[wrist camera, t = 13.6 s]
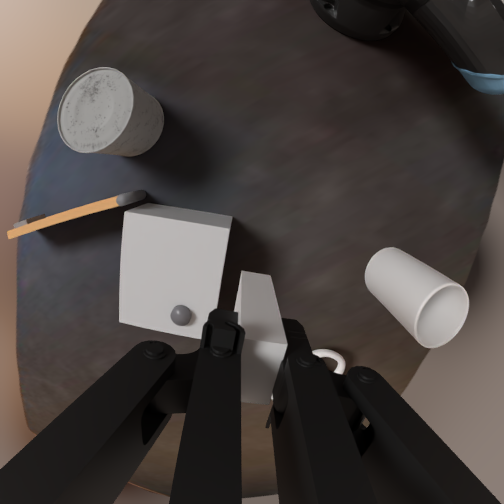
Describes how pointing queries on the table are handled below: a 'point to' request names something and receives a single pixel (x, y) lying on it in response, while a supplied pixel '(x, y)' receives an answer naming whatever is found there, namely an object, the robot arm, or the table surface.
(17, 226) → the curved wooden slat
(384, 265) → the cup
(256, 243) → the table surface
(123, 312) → the knobbed white cabinet
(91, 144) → the grey mottled cylinder
